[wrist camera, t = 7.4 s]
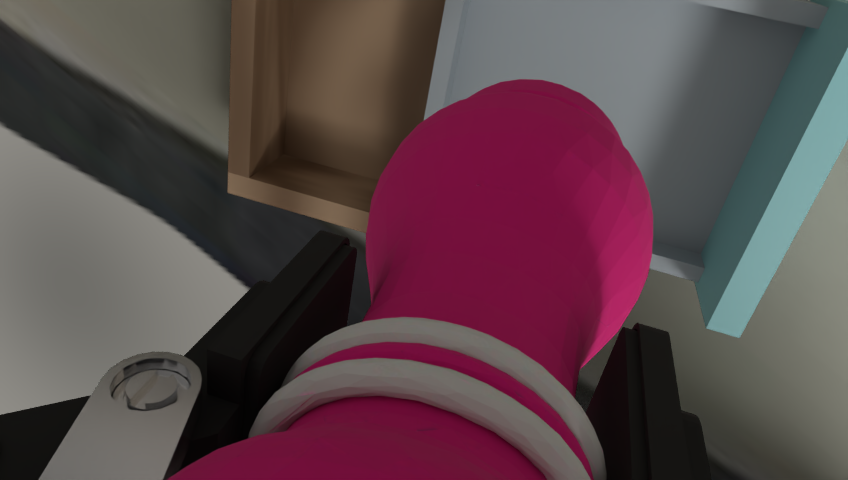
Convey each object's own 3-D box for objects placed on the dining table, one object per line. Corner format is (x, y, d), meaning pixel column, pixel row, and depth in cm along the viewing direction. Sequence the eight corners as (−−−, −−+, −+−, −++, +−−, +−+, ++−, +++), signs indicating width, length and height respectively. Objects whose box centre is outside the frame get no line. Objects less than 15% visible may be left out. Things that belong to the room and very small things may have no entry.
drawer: (849, 0, 25) (912, 18, 20) (717, 270, 31) (739, 338, 26) (471, -78, 27) (439, -80, 22) (420, 188, 34) (386, 235, 28)
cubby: (681, -78, 26) (696, -80, 22) (571, 246, 34) (565, 291, 30) (290, -155, 29) (235, -170, 25) (271, 162, 37) (227, 192, 33)
